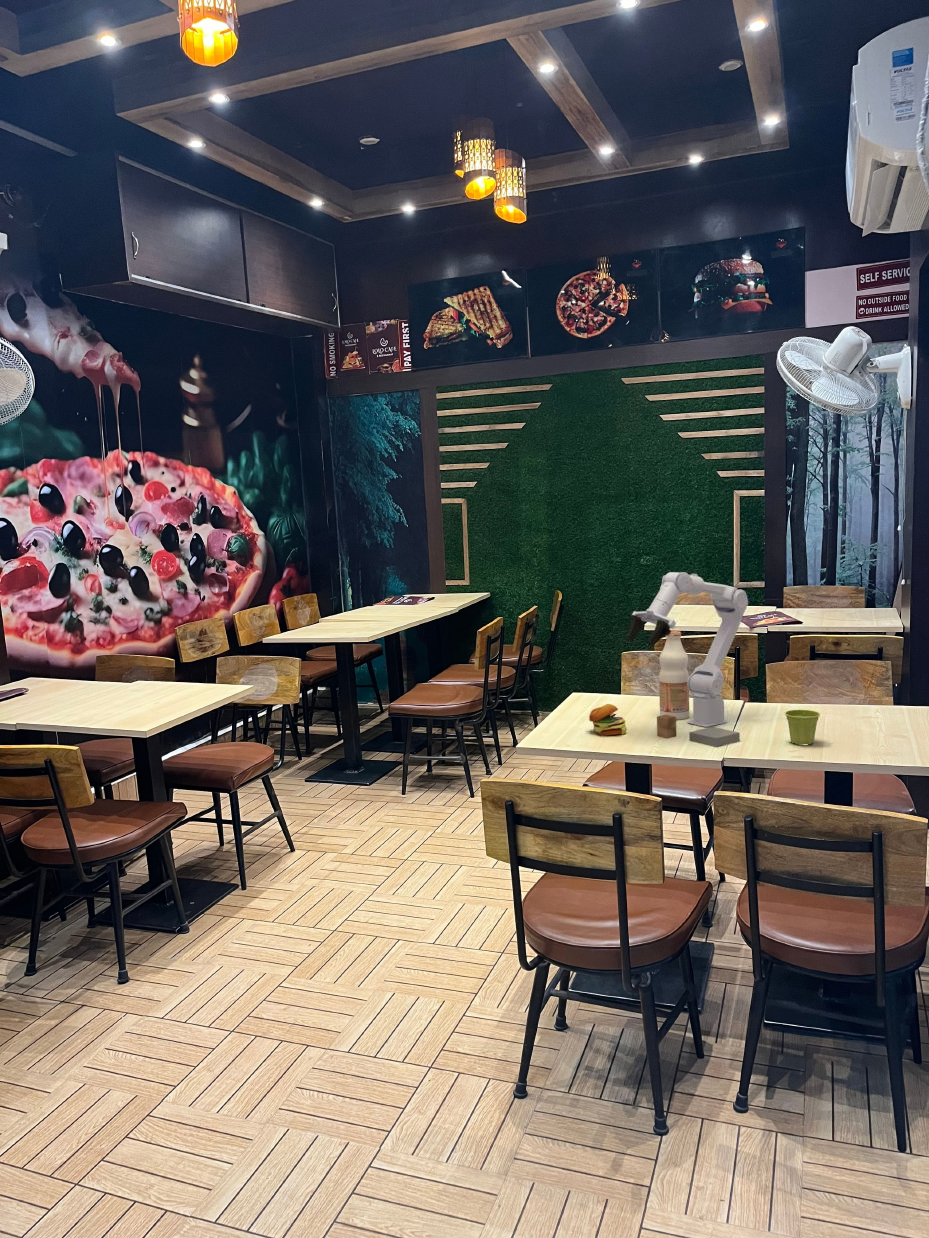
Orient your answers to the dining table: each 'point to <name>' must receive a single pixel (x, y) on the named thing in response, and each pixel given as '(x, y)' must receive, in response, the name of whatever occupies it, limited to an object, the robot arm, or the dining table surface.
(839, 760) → the dining table surface
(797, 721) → the plant pot
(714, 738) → the slate base
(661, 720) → the walnut block
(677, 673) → the fruit juice
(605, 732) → the cheeseburger
